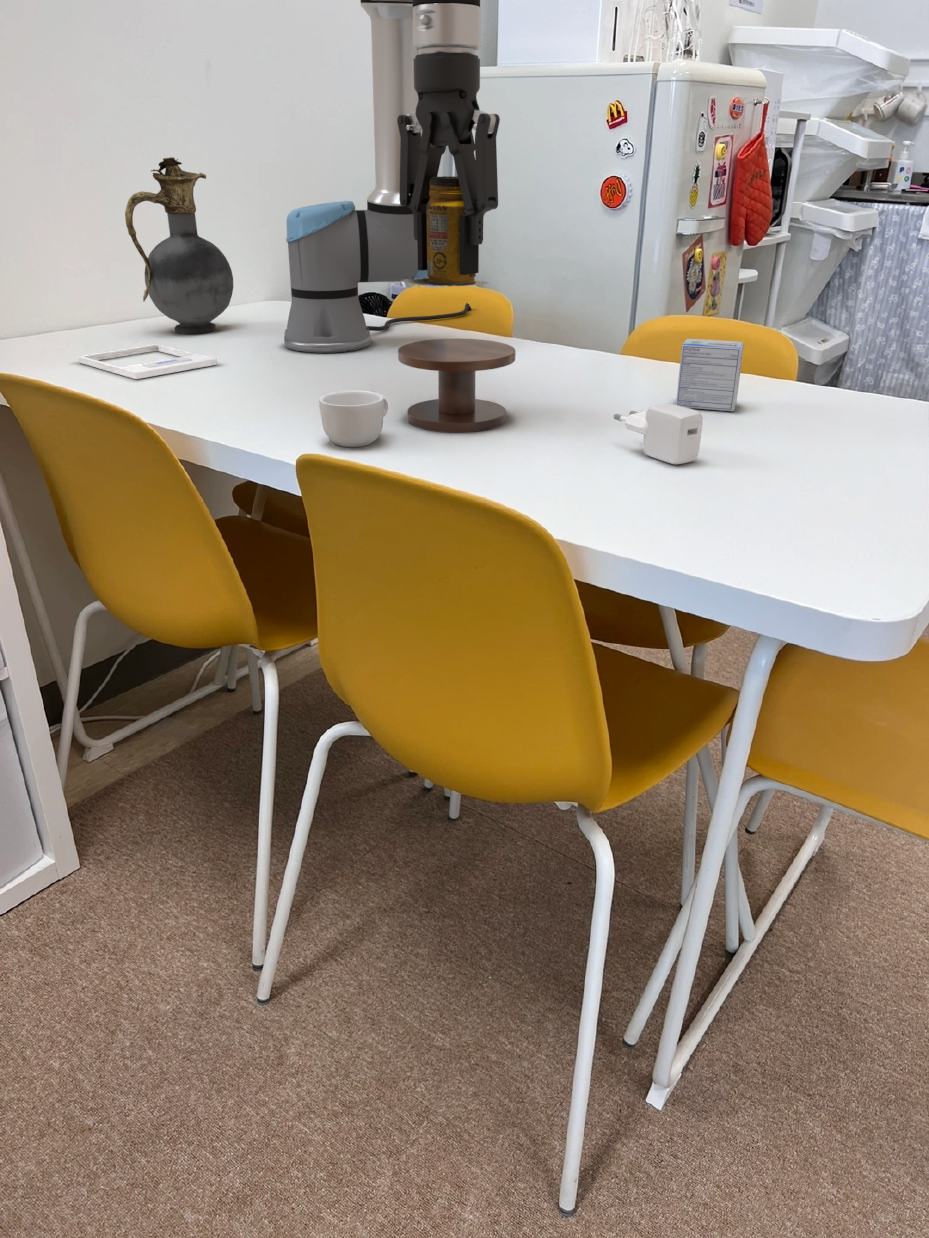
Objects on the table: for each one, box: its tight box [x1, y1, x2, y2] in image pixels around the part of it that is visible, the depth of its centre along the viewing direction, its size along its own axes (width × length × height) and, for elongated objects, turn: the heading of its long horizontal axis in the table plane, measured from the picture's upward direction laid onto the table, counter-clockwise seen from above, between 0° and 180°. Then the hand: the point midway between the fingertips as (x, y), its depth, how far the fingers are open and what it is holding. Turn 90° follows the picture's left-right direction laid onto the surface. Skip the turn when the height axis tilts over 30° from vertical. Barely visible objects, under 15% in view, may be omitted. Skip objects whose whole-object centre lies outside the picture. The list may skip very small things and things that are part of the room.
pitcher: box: [124, 156, 234, 335], centre depth 172 cm, size 11×19×30 cm, turn 139°
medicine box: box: [675, 338, 745, 412], centre depth 128 cm, size 8×4×9 cm, turn 71°
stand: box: [397, 338, 517, 434], centre depth 122 cm, size 15×15×9 cm
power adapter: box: [613, 403, 704, 465], centre depth 109 cm, size 11×5×6 cm, turn 35°
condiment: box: [402, 175, 490, 289], centre depth 114 cm, size 7×8×12 cm
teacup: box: [318, 389, 389, 448], centre depth 113 cm, size 10×8×5 cm
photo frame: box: [76, 343, 218, 380], centre depth 153 cm, size 15×1×18 cm
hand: (447, 271), depth 115 cm, fingers closed on condiment, 6 cm apart
